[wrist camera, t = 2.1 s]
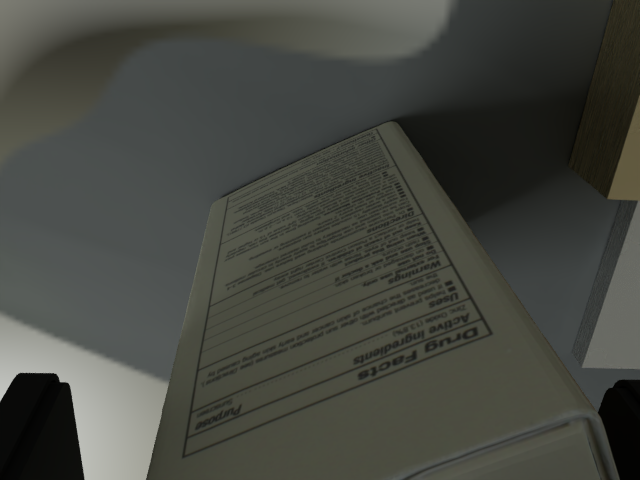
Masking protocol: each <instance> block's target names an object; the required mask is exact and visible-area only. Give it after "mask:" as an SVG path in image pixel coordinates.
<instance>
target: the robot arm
mask: <svg viewBox="0 0 640 480" xmlns="http://www.w3.org/2000/svg"><path fill="white" fill-rule="evenodd" d="M598 414H599V416H600V417H601V420H602V422H603V425H604V428H605V431H606V435H607V438H608V442H609V445H610V449H611V452H612V456H613V459H614V462H615V465H616V469H617V472H618V475H619V479H620V480H640V380H619V381H617V382H616V383H615V385H614V386H613V388H609V389H608V390H607V391H606V393H605V395H604V397H603V400H602V403H601V406H600V408H599V411H598ZM0 480H84V473H83V467H82V461H81V454H80V447H79V441H78V435H77V428H76V422H75V415H74V408H73V402H72V395H71V389H70V385H69V384H68V383H65V382H60V381H59V377H58V376H57V374H54V373H19V374H18V375H16V377H15V378H14V379H13V381H12V383H11V384H10V386H9V388H8V390H7V391H6V393H5V395H4V396H3V398H2V400H1V401H0Z"/></svg>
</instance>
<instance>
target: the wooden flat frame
mask: <svg viewBox="0 0 640 480" xmlns="http://www.w3.org/2000/svg"><path fill="white" fill-rule="evenodd" d="M569 167H570V168H571V169H572V170H573V171H575V172H576V173H577V174H578V175H579V176H580V177H582V178H583V179H584V180H585V181H586V182H588V183H589V184H590V185H591V186H592V187H594V188H595V189H596V190H597V191H598V192H599V193H601V194H602V195H603V196H604V197H605V198H607V199H616V200H622V201H621V204H620V207H619V210H618V213H617V216H616V219H615V222H614V226H613V229H612V232H611V235H610V238H609V241H608V244H607V247H606V250H605V253H604V256H603V259H602V263H601V266H600V269H599V272H598V275H597V278H596V281H595V284H594V287H593V290H592V293H591V297H590V300H589V303H588V306H587V309H586V312H585V315H584V318H583V321H582V324H581V327H580V330H579V334H578V337H577V340H576V343H575V346H574V349H573V352H572V354H573V355H574V357H575V358H576V360H577V361H578V363H579V364H580V366H581V367H582V368H616V369H640V0H614V1H613V4H612V8H611V12H610V15H609V19H608V23H607V26H606V30H605V34H604V37H603V41H602V45H601V48H600V52H599V56H598V59H597V63H596V67H595V70H594V74H593V78H592V81H591V85H590V89H589V92H588V96H587V100H586V103H585V107H584V111H583V114H582V118H581V122H580V126H579V129H578V133H577V137H576V140H575V144H574V148H573V151H572V155H571V159H570V162H569Z"/></svg>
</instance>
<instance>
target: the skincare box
mask: <svg viewBox="0 0 640 480" xmlns="http://www.w3.org/2000/svg"><path fill="white" fill-rule="evenodd" d="M146 480H620V479H619V475H618V472H617V469H616V465H615V462H614V459H613V456H612V452H611V449H610V445H609V442H608V438H607V435H606V431H605V428H604V425H603V422H602V420H601V417H600V416H599V414H598V413H597V411H596V410H595V408H594V407H593V406H592V404H591V403H590V401H589V400H588V399H587V397H586V396H585V394H584V393H583V392H582V390H581V389H580V387H579V386H578V384H577V383H576V382H575V380H574V379H573V377H572V376H571V374H570V373H569V372H568V370H567V369H566V367H565V366H564V364H563V363H562V361H561V360H560V358H559V357H558V356H557V354H556V353H555V351H554V350H553V348H552V347H551V345H550V344H549V342H548V341H547V340H546V338H545V337H544V335H543V334H542V333H541V331H540V330H539V328H538V327H537V325H536V324H535V322H534V321H533V320H532V318H531V317H530V315H529V314H528V312H527V311H526V309H525V308H524V306H523V305H522V303H521V302H520V300H519V299H518V297H517V296H516V295H515V293H514V292H513V290H512V289H511V287H510V286H509V284H508V283H507V282H506V280H505V279H504V277H503V276H502V274H501V273H500V271H499V270H498V268H497V267H496V266H495V264H494V263H493V261H492V260H491V258H490V257H489V255H488V254H487V253H486V251H485V250H484V248H483V247H482V245H481V244H480V242H479V241H478V239H477V238H476V237H475V235H474V234H473V232H472V231H471V229H470V228H469V226H468V225H467V223H466V222H465V220H464V219H463V217H462V216H461V214H460V213H459V211H458V210H457V208H456V207H455V205H454V204H453V203H452V201H451V200H450V198H449V197H448V196H447V194H446V193H445V191H444V190H443V188H442V187H441V185H440V184H439V183H438V181H437V180H436V178H435V177H434V175H433V174H432V172H431V171H430V169H429V168H428V166H427V165H426V163H425V161H424V160H423V158H422V157H421V155H420V154H419V153H418V151H417V150H416V149H415V147H414V146H413V145H412V143H411V142H410V140H409V139H408V137H407V136H406V134H405V133H404V132H403V130H402V128H401V127H400V126H399V124H398V123H396V122H393V121H390V122H387V123H384V124H382V125H379V126H377V127H375V128H372V129H370V130H367V131H365V132H362V133H360V134H358V135H356V136H353V137H351V138H348V139H346V140H344V141H341V142H339V143H337V144H335V145H332V146H330V147H328V148H326V149H323V150H321V151H319V152H317V153H315V154H312V155H310V156H308V157H306V158H304V159H302V160H299V161H297V162H295V163H293V164H291V165H289V166H287V167H284V168H282V169H280V170H278V171H276V172H274V173H272V174H270V175H268V176H265V177H263V178H261V179H259V180H257V181H255V182H253V183H251V184H249V185H247V186H245V187H243V188H241V189H239V190H237V191H235V192H233V193H231V194H229V195H227V196H225V197H223V198H221V199H219V200H217V201H215V202H214V203H213V204H212V206H211V210H210V214H209V218H208V222H207V227H206V230H205V235H204V239H203V243H202V247H201V252H200V256H199V260H198V265H197V269H196V273H195V277H194V282H193V286H192V290H191V294H190V298H189V302H188V306H187V311H186V316H185V320H184V324H183V328H182V332H181V336H180V340H179V344H178V348H177V352H176V357H175V361H174V364H173V369H172V373H171V378H170V382H169V386H168V390H167V394H166V398H165V403H164V406H163V409H162V417H161V420H160V425H159V428H158V432H157V437H156V440H155V444H154V449H153V453H152V458H151V463H150V466H149V470H148V474H147V478H146Z"/></svg>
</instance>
